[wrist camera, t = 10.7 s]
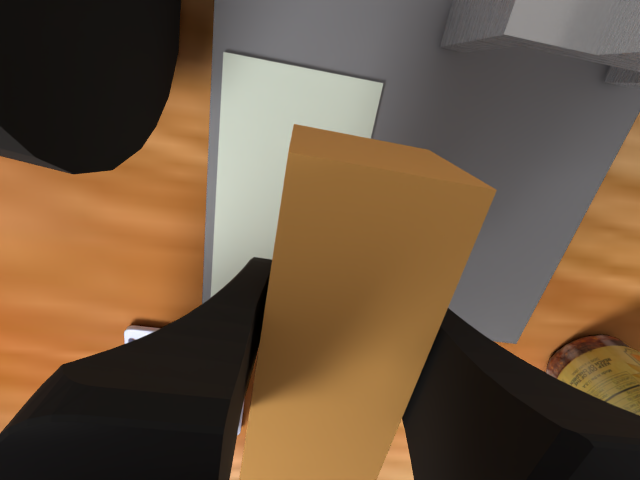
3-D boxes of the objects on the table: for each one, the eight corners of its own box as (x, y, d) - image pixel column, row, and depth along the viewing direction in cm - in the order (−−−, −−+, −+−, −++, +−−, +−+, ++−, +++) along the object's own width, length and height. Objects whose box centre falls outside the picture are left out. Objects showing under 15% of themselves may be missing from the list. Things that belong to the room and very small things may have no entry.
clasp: (626, 86, 16) (856, 95, 9) (439, 47, 15) (547, 25, 8) (651, 37, 15) (922, 8, 8) (455, -9, 14) (589, -83, 7)
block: (352, 391, 14) (368, 498, 11) (254, 382, 14) (237, 489, 10) (428, 149, 10) (497, 190, 7) (293, 124, 10) (288, 151, 6)
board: (504, 328, 24) (517, 346, 22) (208, 293, 22) (201, 309, 20) (653, 30, 17) (689, 25, 15) (226, -71, 14) (216, -89, 13)
